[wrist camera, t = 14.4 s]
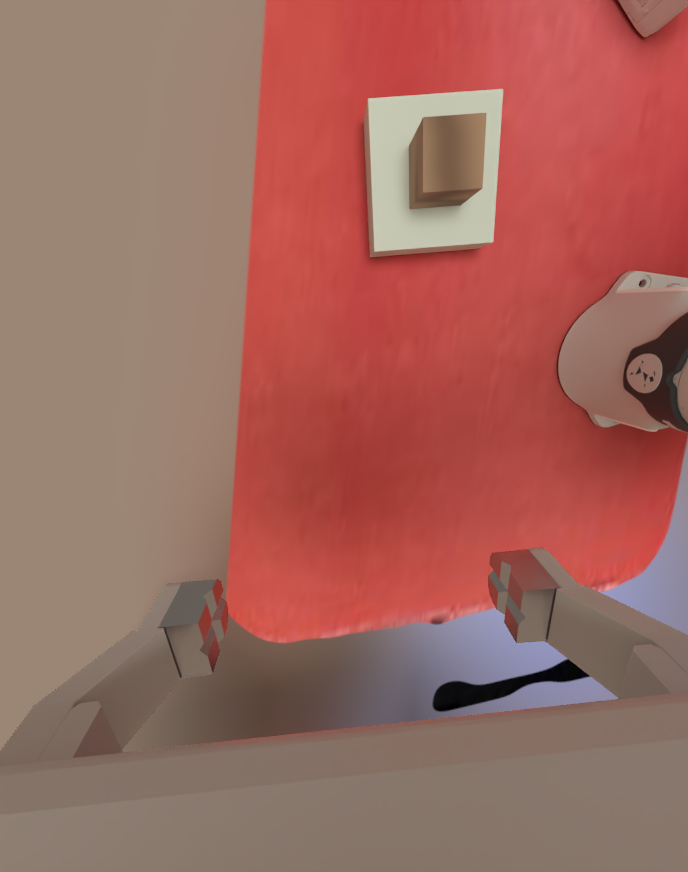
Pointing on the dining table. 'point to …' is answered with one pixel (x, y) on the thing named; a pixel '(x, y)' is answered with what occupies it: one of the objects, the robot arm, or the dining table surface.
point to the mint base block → (389, 176)
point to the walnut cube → (446, 160)
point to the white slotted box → (652, 13)
